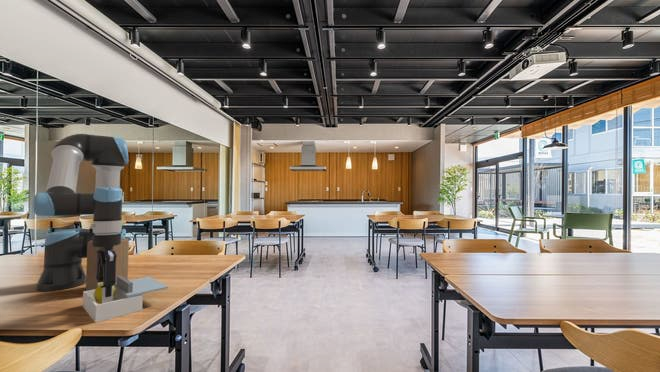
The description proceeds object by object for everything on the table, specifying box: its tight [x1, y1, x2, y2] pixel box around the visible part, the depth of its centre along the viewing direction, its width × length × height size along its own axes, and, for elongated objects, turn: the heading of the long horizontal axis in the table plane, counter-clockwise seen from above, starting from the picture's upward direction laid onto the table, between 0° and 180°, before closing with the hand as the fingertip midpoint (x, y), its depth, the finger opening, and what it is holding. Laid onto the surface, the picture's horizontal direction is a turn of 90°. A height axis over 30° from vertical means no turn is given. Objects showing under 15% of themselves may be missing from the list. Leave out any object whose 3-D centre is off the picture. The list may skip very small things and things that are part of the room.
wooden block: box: [85, 237, 130, 291], centre depth 114 cm, size 10×10×20 cm
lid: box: [114, 275, 169, 297], centre depth 100 cm, size 19×12×4 cm, turn 50°
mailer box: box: [82, 288, 144, 324], centre depth 94 cm, size 19×12×5 cm, turn 50°
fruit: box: [94, 283, 115, 304], centre depth 92 cm, size 6×6×8 cm
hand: (104, 304), depth 92 cm, fingers closed on fruit, 5 cm apart
